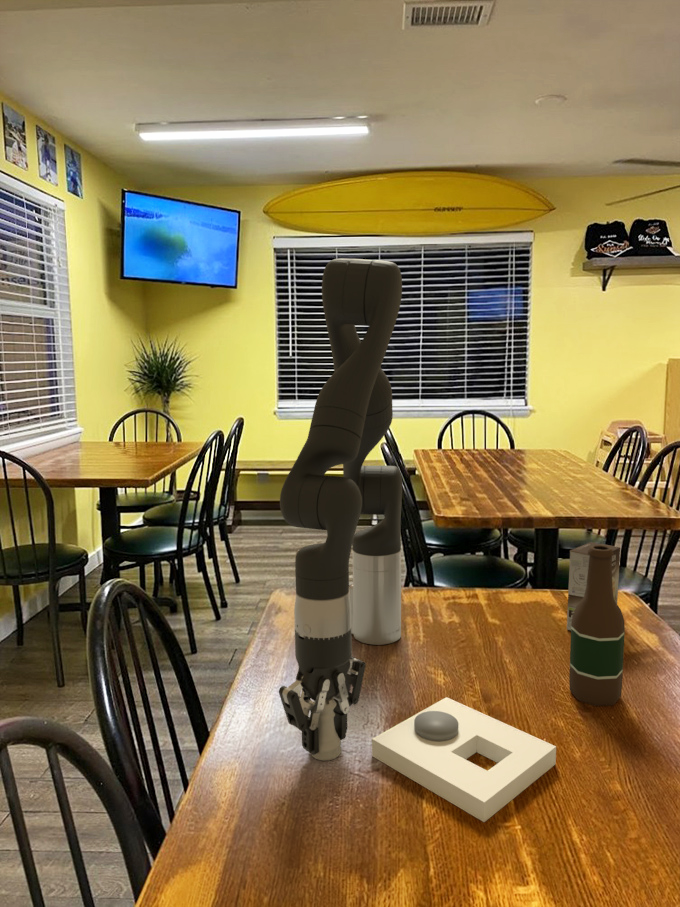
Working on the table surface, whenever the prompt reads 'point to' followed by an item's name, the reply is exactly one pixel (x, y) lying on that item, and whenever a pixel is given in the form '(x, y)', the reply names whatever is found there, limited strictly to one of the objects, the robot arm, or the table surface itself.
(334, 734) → the rook chess piece
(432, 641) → the table surface
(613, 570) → the coffee box
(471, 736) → the carrier plate
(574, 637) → the beer bottle
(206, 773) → the table surface
